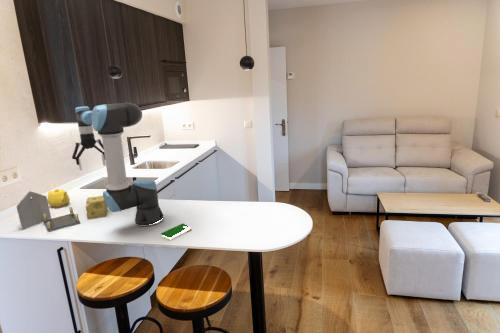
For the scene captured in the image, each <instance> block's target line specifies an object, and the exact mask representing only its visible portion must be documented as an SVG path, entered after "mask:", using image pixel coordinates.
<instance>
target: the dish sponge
mask: <svg viewBox="0 0 500 333" xmlns="http://www.w3.org/2000/svg"><path fill="white" fill-rule="evenodd" d="M185 224H186V223H181V224H178V225H176V226H174V227H171V228H169V229H168V230H165V231H163V232H161V233H160V235H161V234H162V235H165V236H167V237H172V236H173V235H175V234H177V233H179V232H181V231H182V230H184V229H185V228H183V226H187V225H188V224H186V225H185ZM187 227H188V226H187Z"/></svg>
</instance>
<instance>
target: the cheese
mask: <svg viewBox="0 0 500 333" xmlns="http://www.w3.org/2000/svg"><path fill="white" fill-rule="evenodd" d="M85 205H86V206H85V210H86V218H87V220H89V219H97V218H104V217H106V216H107V214H108V210H109V209H108V207H107V205H106V203H105V201H104V197H103V195H99V196H91V197H87V198H86V201H85Z"/></svg>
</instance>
